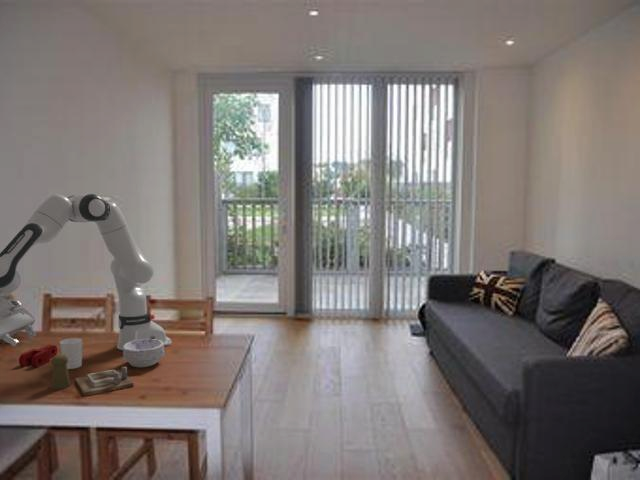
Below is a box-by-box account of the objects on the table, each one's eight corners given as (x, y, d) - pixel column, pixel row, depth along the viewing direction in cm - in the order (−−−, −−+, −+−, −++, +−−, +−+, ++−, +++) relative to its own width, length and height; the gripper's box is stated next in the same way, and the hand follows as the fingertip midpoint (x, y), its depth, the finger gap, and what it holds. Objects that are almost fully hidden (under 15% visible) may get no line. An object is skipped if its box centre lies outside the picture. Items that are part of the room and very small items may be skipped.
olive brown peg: (55, 383, 196) (53, 353, 195) (73, 382, 197) (71, 352, 196) (48, 389, 190) (46, 358, 189) (66, 389, 191) (65, 358, 190)
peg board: (121, 372, 207) (121, 359, 206) (133, 386, 194) (133, 371, 193) (75, 381, 198) (74, 367, 198) (84, 396, 185) (83, 381, 184)
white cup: (88, 364, 217) (86, 339, 215) (73, 370, 209) (71, 344, 208) (71, 362, 219) (70, 337, 218) (56, 368, 212) (55, 342, 211)
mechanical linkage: (35, 369, 212) (35, 356, 211) (19, 367, 213) (18, 355, 213) (62, 356, 227) (62, 344, 227) (47, 355, 229) (46, 343, 228)
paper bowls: (126, 372, 207) (126, 352, 206) (120, 361, 221) (120, 341, 220) (168, 366, 214) (167, 346, 213) (160, 355, 228) (159, 336, 227)
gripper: (-19, 313, 183) (11, 343, 183) (21, 299, 203) (48, 326, 203) (-30, 326, 184) (-1, 356, 184) (11, 311, 204) (37, 338, 204)
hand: (25, 340), depth 193 cm, fingers open, 8 cm apart
